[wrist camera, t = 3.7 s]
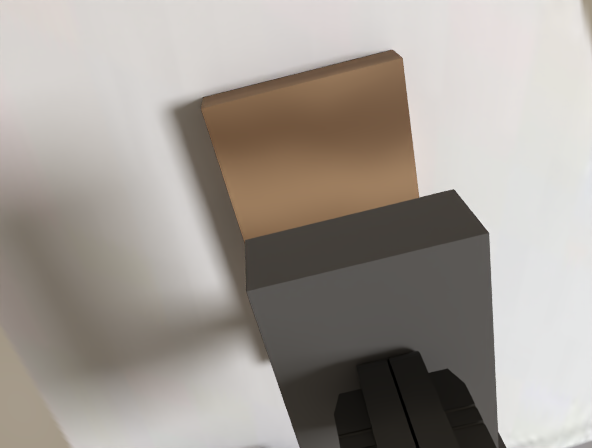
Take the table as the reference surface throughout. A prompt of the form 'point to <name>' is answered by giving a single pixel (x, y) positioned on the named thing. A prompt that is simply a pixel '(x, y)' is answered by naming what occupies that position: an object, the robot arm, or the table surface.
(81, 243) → the table surface
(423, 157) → the table surface
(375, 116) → the post stand
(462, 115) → the table surface
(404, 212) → the grey roller bracket
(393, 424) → the robot arm
